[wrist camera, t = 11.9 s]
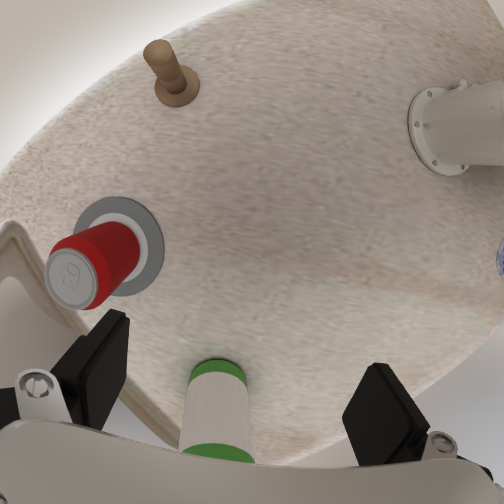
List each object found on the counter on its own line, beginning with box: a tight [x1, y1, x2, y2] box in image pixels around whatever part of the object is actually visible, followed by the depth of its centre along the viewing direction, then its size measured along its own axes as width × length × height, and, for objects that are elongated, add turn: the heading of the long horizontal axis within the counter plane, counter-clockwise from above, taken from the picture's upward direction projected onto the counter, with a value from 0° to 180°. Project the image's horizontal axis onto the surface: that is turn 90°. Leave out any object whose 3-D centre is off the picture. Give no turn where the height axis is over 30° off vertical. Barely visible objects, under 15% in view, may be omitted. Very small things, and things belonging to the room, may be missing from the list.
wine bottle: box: [178, 360, 255, 464], centre depth 25 cm, size 8×8×30 cm
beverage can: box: [44, 221, 140, 310], centre depth 28 cm, size 7×7×12 cm
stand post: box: [143, 39, 199, 107], centre depth 25 cm, size 5×5×11 cm
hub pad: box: [73, 197, 164, 296], centre depth 34 cm, size 12×12×1 cm
